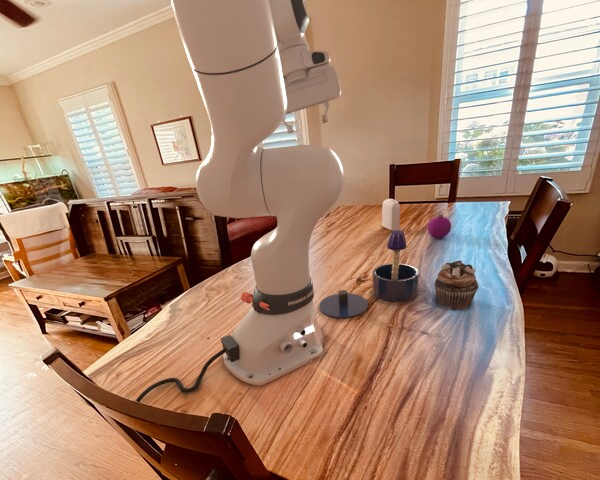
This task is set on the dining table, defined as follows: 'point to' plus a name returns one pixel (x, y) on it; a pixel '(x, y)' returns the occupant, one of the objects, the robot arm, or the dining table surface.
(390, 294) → the pot
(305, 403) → the dining table surface
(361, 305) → the pot lid
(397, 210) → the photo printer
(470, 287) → the cupcake
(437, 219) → the christmas ornament
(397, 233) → the toy lamp
